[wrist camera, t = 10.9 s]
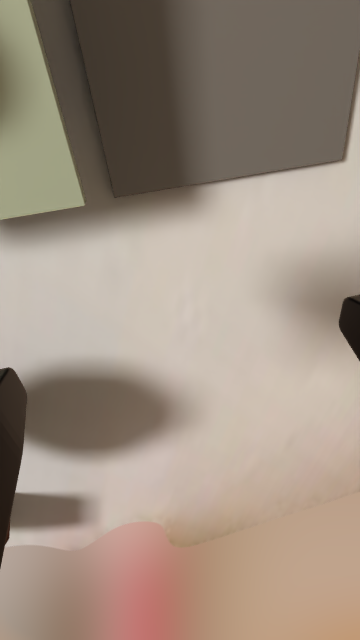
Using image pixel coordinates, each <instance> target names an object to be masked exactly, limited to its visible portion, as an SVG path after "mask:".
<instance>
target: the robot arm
mask: <svg viewBox="0 0 360 640" xmlns="http://www.w3.org/2000/svg"><path fill="white" fill-rule="evenodd" d="M339 328H340V330H341V332H342V334H343V335H344V337H345V338H346V340H347V342H348V343H349V345H350V346H351V348H352V350H353V351H354V353H355V354H356V356H357V358H358V359H359V361H360V295H356V296H351V297H347V298H345V299H344V301H343V304H342V309H341V314H340V318H339ZM26 404H27V394H26V390H25V388H24V386H23V384H22V383H21V381H20V379H19V377H18V376H17V374H16V372H15V371H14V370H13V369H12V368H9V367H8V368H3V369H0V567H1V562H2V557H3V552H4V547H5V542H6V537H7V531H8V526H9V521H10V516H11V511H12V506H13V501H14V496H15V490H16V485H17V480H18V475H19V470H20V465H21V459H22V453H23V444H24V431H25V417H26Z"/></svg>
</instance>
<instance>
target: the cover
mask: <svg viewBox="0 0 360 640" xmlns="http://www.w3.org/2000/svg"><path fill="white" fill-rule="evenodd" d="M85 204H86V198H85V194H84V191H83V187H82V183H81V180H80V176H79V173H78V169H77V165H76V162H75V158H74V154H73V151H72V147H71V144H70V140H69V136H68V133H67V129H66V126H65V122H64V118H63V115H62V111H61V108H60V104H59V100H58V97H57V93H56V90H55V86H54V82H53V79H52V75H51V72H50V68H49V64H48V61H47V57H46V54H45V50H44V46H43V43H42V39H41V35H40V32H39V28H38V25H37V21H36V17H35V14H34V10H33V7H32V3H31V0H0V220H2V219H8V218H14V217H20V216H26V215H32V214H38V213H44V212H50V211H56V210H62V209H68V208H74V207H80V206H85Z"/></svg>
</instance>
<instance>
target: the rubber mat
mask: <svg viewBox="0 0 360 640" xmlns="http://www.w3.org/2000/svg"><path fill="white" fill-rule="evenodd" d="M70 3H71V7H72V11H73V16H74V20H75V25H76V29H77V33H78V38H79V42H80V47H81V51H82V56H83V60H84V64H85V69H86V73H87V78H88V82H89V86H90V91H91V95H92V100H93V104H94V108H95V113H96V117H97V122H98V126H99V130H100V135H101V139H102V144H103V148H104V152H105V157H106V161H107V166H108V170H109V174H110V179H111V183H112V188H113V192H114V197H115V198H116V197H122V196H128V195H134V194H140V193H146V192H152V191H158V190H164V189H170V188H176V187H182V186H188V185H194V184H200V183H206V182H212V181H218V180H224V179H230V178H236V177H242V176H248V175H254V174H260V173H266V172H272V171H278V170H284V169H290V168H296V167H302V166H308V165H314V164H320V163H326V162H332V161H338V160H342V157H343V151H344V145H345V139H346V132H347V126H348V120H349V114H350V107H351V101H352V95H353V89H354V82H355V76H356V70H357V64H358V58H359V51H360V0H70Z"/></svg>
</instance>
